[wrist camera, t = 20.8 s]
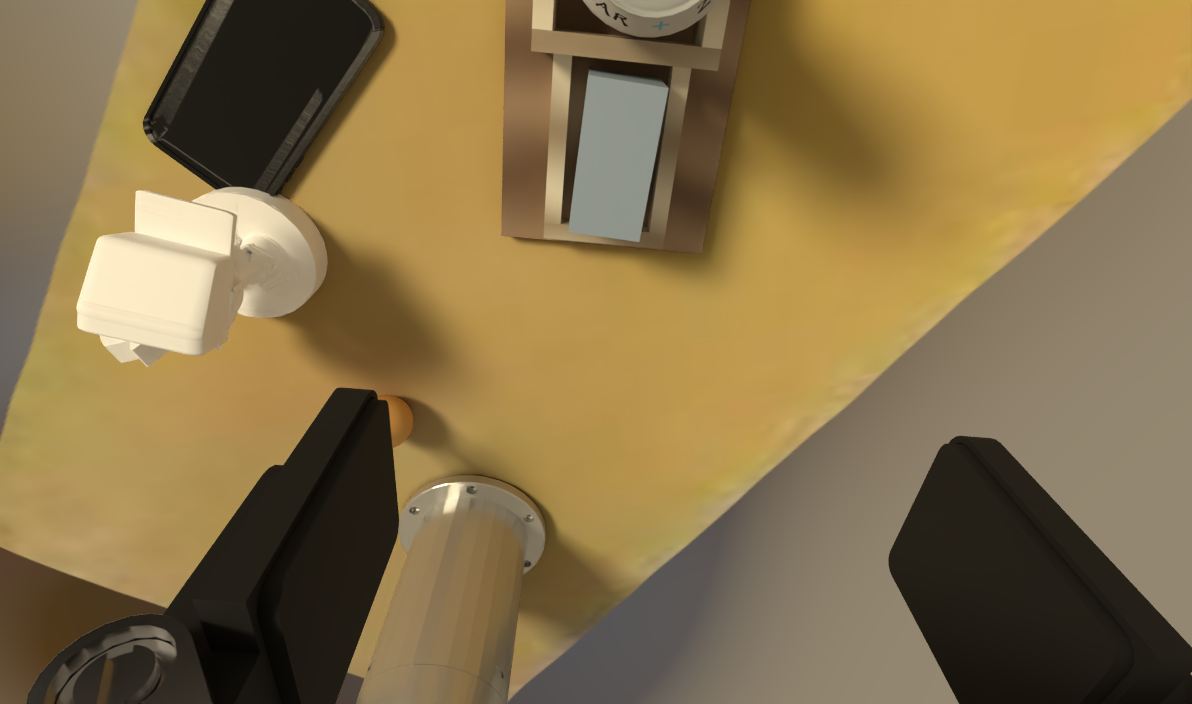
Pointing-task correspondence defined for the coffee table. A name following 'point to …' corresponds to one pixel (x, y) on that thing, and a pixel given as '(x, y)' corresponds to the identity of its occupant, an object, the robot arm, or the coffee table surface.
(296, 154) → the phone
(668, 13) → the energy drink can
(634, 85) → the wing block
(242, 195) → the character figurine
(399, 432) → the figurine
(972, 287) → the coffee table surface
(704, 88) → the jig
